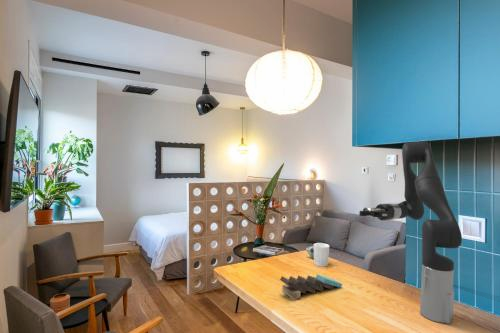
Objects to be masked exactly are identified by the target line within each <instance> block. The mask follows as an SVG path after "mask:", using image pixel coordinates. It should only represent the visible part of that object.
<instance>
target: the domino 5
mask: <svg viewBox="0 0 500 333" xmlns="http://www.w3.org/2000/svg"><path fill="white" fill-rule="evenodd" d="M315 278H317V279H319V280H320V281H322V282H324V283H327V284H330V285H333V287H336V288H340V289H342V286H343V283H341V282H339V281H337V280H335V279H333V278H330V277H328V276H327V277H326V276H324V275H321V274H318V273H317V274H316V277H315Z"/></svg>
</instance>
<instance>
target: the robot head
mask: <svg viewBox="0 0 500 333" xmlns="http://www.w3.org/2000/svg"><path fill="white" fill-rule="evenodd" d="M305 251H306V252H307V254H308V255H309V257H310V258H311V259H314V245H311V246H309V247H306V248H305Z"/></svg>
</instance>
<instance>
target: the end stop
mask: <svg viewBox="0 0 500 333" xmlns="http://www.w3.org/2000/svg"><path fill="white" fill-rule="evenodd" d="M281 290H282V292H283V294H284V295H287V296H288V297H289V298H291V300H293V301H296V300H299V299H301V292H300V291H298V290H296V289H294V288H292V287H290V286H288V285H286V284H285V283H284V284H282V289H281Z"/></svg>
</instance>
